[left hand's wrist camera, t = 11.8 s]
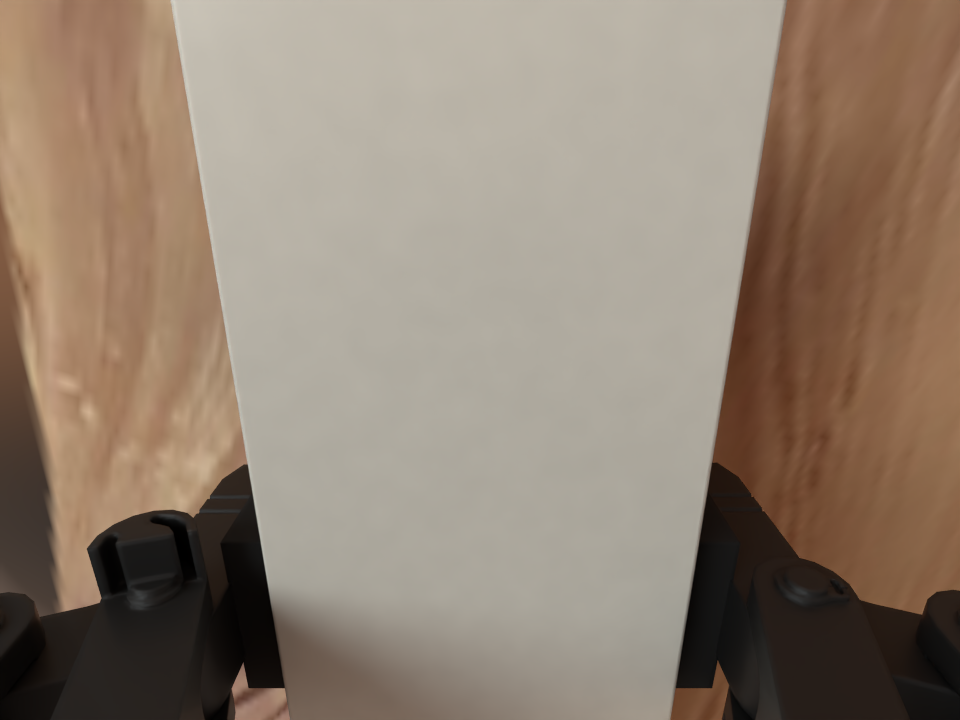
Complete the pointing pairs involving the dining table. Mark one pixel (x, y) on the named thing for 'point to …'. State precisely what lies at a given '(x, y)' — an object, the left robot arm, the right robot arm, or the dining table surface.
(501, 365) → the beam
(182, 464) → the dining table surface
